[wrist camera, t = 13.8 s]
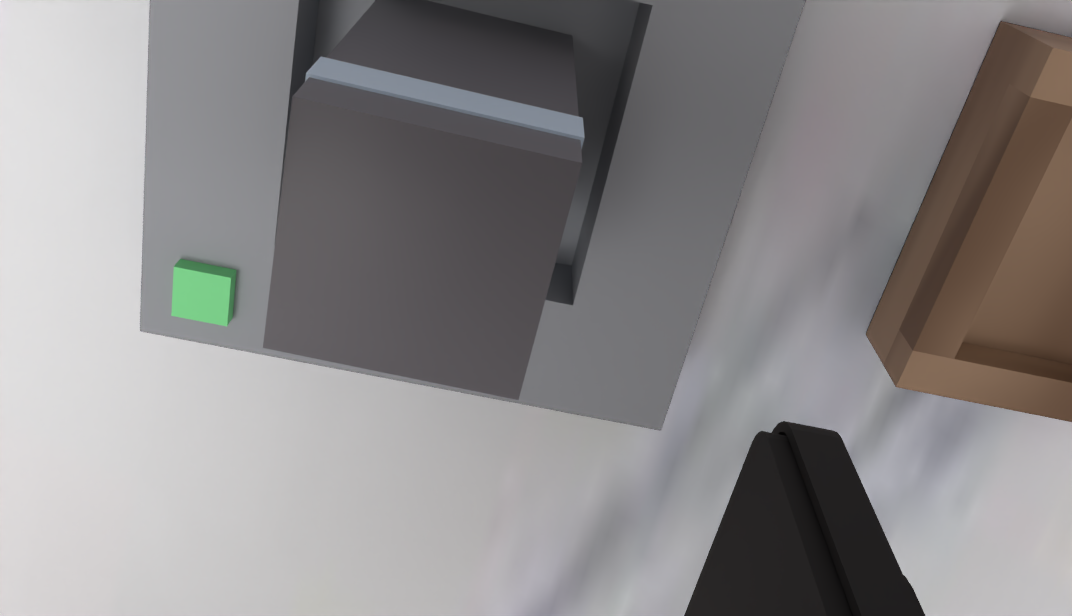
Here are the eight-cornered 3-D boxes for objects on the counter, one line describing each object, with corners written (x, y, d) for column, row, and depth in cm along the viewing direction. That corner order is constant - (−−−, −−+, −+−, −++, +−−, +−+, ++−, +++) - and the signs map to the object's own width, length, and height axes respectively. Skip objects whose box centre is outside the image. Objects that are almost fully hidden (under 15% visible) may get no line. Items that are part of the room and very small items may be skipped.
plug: (575, 33, 20) (586, 160, 13) (531, 210, 22) (521, 403, 15) (382, -13, 20) (288, 91, 13) (354, 170, 22) (259, 349, 15)
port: (806, -129, 20) (851, -115, 17) (649, 364, 25) (662, 440, 22) (214, -274, 19) (149, -287, 16) (185, 272, 24) (133, 339, 21)
